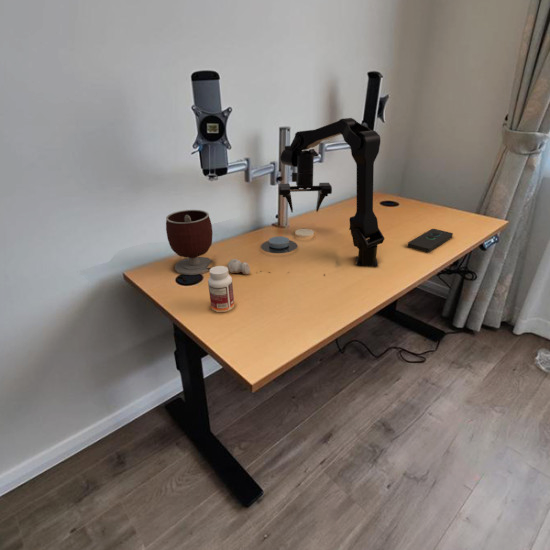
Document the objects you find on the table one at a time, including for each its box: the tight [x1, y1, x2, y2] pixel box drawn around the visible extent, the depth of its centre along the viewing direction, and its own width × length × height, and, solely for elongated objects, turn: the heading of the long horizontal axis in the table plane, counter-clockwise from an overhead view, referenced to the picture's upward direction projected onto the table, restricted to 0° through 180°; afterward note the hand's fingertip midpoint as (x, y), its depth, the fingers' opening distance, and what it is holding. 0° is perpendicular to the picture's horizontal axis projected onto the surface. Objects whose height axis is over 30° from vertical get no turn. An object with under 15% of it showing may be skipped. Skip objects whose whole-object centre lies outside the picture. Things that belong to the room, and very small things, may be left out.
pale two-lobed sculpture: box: [226, 258, 251, 275], centre depth 114 cm, size 4×8×5 cm
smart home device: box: [407, 228, 454, 254], centre depth 133 cm, size 8×2×20 cm
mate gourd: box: [165, 209, 213, 276], centre depth 115 cm, size 16×14×20 cm
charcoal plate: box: [260, 239, 298, 254], centre depth 131 cm, size 13×13×1 cm
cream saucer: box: [294, 228, 315, 239], centre depth 140 cm, size 7×7×2 cm
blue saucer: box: [268, 235, 290, 249], centre depth 130 cm, size 7×7×2 cm
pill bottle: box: [207, 265, 235, 313], centre depth 95 cm, size 6×6×11 cm
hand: (304, 211), depth 136 cm, fingers open, 9 cm apart
